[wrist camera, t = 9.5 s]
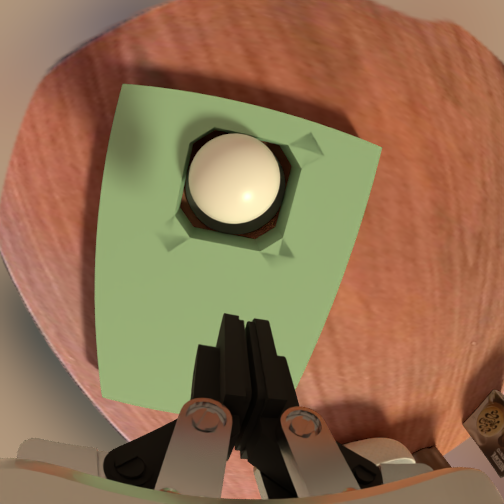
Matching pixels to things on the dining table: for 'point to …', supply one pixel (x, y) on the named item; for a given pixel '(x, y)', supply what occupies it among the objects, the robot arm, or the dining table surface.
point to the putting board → (215, 241)
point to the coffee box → (489, 429)
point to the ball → (234, 178)
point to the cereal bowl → (382, 451)
